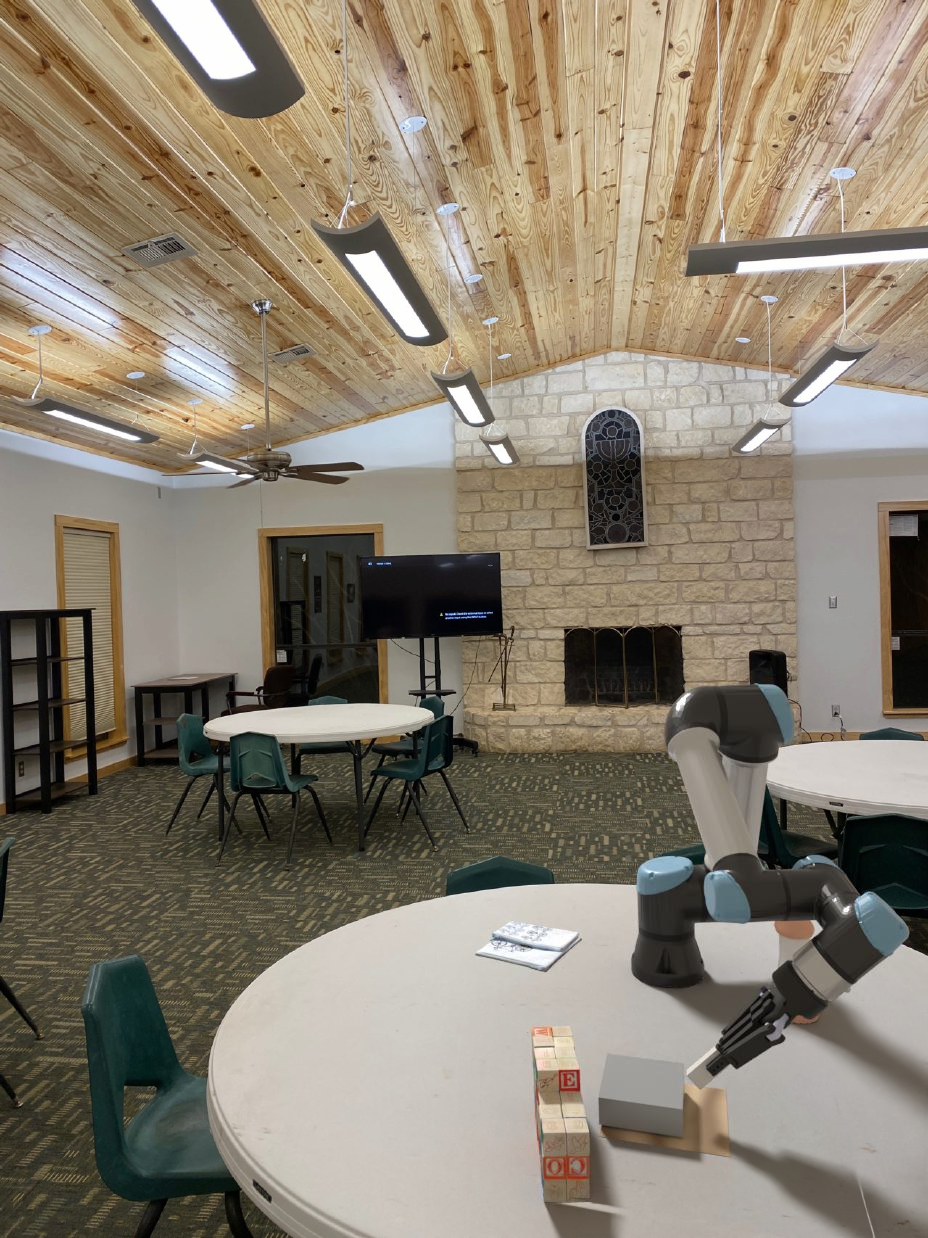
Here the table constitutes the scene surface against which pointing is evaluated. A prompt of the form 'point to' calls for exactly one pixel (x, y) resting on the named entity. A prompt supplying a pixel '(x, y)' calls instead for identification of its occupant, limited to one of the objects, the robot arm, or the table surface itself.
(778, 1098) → the table surface
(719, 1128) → the mat
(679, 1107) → the block
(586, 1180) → the stack of blocks
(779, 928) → the salt shaker
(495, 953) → the folded white cloth
